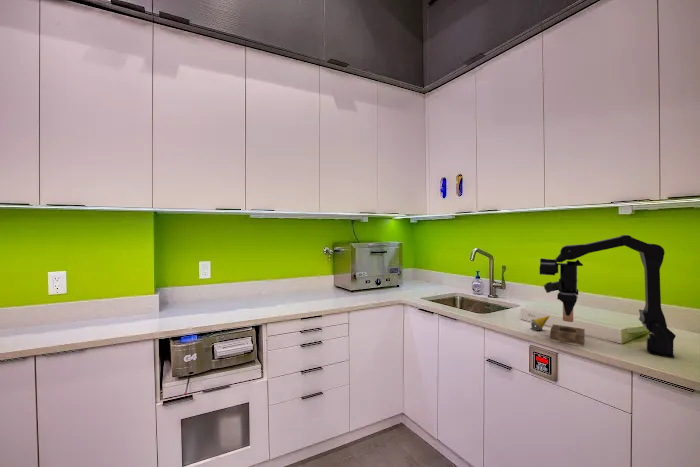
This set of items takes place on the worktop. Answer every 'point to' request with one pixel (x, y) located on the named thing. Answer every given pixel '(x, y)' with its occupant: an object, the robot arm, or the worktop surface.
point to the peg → (567, 318)
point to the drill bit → (539, 323)
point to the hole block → (567, 335)
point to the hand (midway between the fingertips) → (568, 314)
